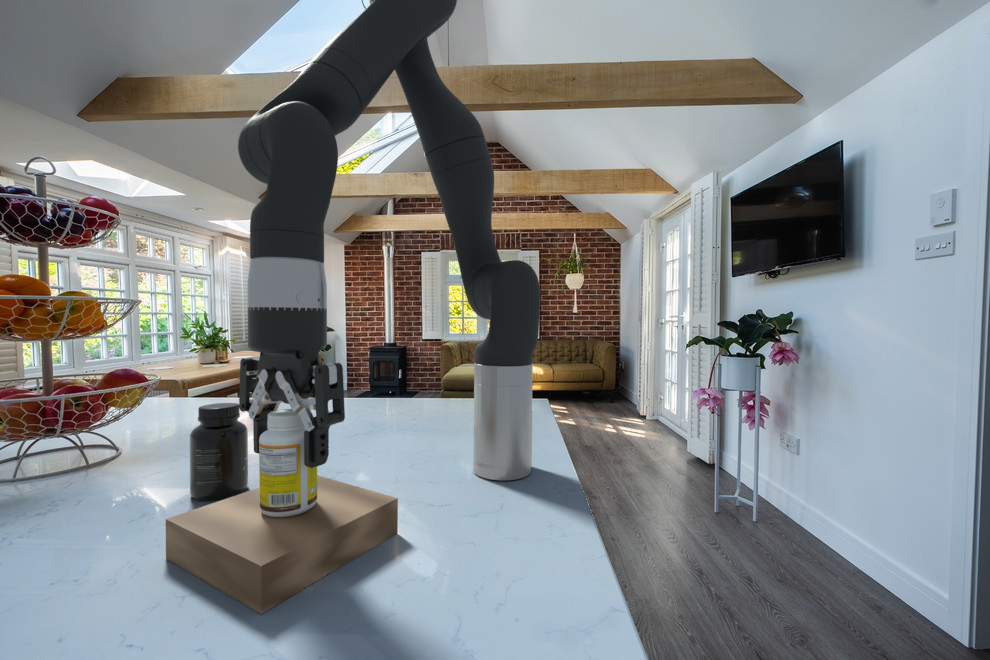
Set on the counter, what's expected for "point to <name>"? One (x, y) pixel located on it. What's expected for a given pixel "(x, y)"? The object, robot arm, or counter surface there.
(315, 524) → the walnut block
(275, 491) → the supplement bottle
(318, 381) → the robot arm
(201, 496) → the supplement bottle
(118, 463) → the counter surface
